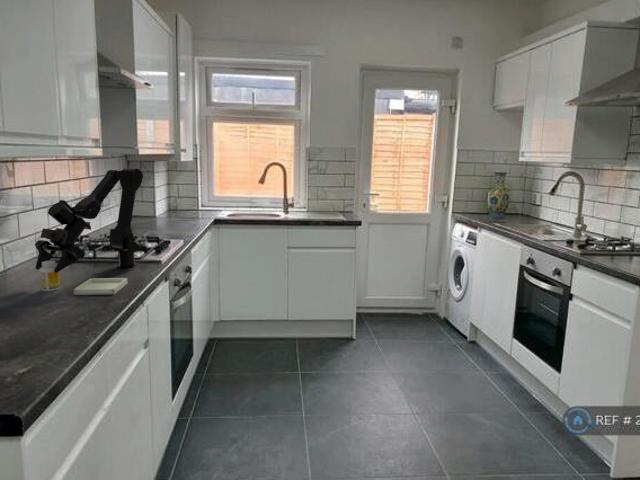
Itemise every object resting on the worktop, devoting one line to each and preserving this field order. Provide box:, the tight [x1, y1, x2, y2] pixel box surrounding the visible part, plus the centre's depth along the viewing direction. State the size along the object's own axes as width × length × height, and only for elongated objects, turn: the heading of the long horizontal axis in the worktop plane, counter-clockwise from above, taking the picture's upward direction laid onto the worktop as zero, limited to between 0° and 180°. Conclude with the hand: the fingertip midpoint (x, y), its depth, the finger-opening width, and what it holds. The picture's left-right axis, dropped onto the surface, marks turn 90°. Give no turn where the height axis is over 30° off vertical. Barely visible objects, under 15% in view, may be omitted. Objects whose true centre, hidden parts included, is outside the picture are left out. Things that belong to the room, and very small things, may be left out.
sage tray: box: [73, 277, 129, 296], centre depth 164 cm, size 13×13×2 cm
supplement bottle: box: [39, 259, 61, 292], centre depth 163 cm, size 5×5×10 cm
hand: (45, 270), depth 161 cm, fingers open, 9 cm apart
